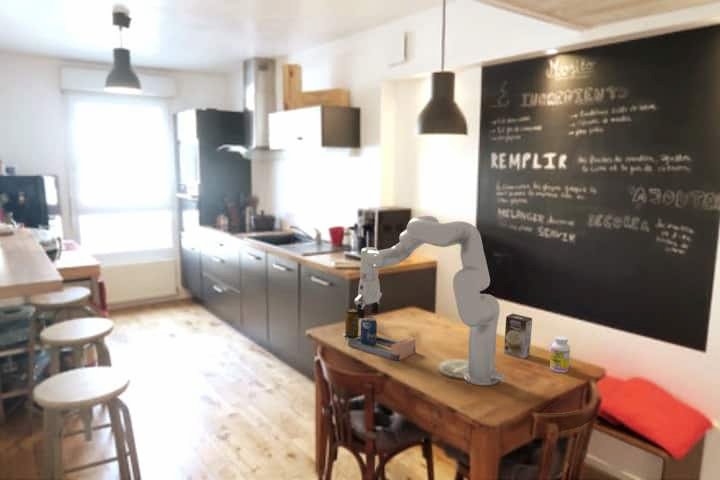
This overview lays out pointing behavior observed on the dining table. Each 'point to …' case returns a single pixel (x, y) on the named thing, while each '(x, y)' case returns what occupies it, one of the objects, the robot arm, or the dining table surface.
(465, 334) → the dining table surface
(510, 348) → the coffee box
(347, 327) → the condiment
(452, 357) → the dining table surface
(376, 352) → the guide channel
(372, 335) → the soda can
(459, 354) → the dining table surface
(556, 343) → the supplement bottle
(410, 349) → the stop block
